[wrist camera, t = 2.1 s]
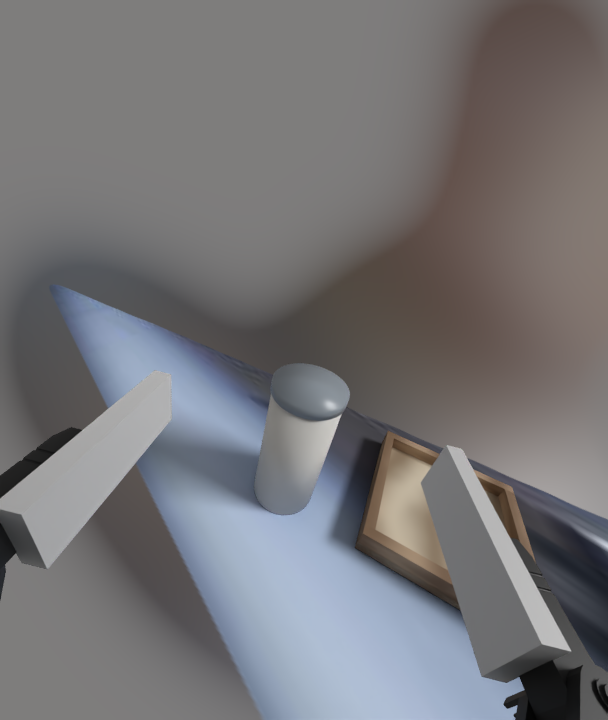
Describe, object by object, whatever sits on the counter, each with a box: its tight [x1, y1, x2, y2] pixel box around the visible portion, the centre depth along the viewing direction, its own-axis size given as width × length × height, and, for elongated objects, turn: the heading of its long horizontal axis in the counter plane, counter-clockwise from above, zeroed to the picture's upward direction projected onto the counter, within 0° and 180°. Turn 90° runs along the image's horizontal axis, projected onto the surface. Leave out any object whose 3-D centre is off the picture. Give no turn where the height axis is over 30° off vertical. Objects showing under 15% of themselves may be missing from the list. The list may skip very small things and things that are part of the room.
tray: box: [355, 431, 535, 610], centre depth 30 cm, size 16×16×2 cm
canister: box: [254, 363, 350, 515], centre depth 27 cm, size 7×7×14 cm
